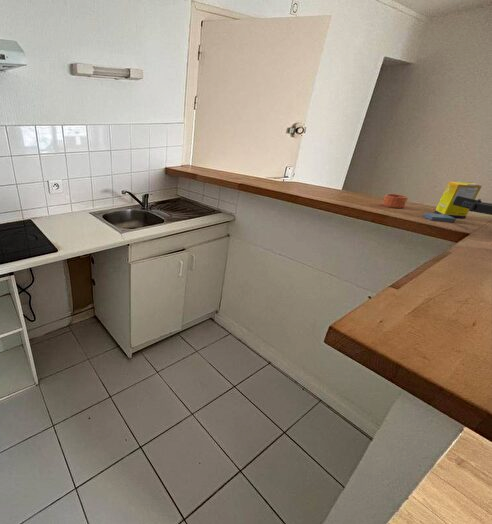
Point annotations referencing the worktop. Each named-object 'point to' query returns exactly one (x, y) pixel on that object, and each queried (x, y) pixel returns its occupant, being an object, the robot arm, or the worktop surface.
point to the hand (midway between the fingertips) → (476, 200)
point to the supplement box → (450, 195)
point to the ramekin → (394, 200)
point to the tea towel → (439, 217)
